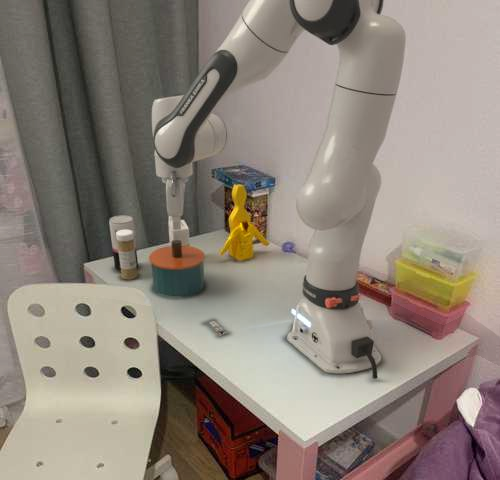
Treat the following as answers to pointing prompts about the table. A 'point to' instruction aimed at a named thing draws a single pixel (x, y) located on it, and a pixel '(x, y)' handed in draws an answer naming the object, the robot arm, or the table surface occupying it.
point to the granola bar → (218, 328)
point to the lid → (177, 256)
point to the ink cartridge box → (179, 233)
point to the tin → (178, 280)
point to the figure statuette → (241, 228)
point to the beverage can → (116, 225)
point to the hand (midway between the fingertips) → (177, 222)
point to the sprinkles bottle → (127, 254)
